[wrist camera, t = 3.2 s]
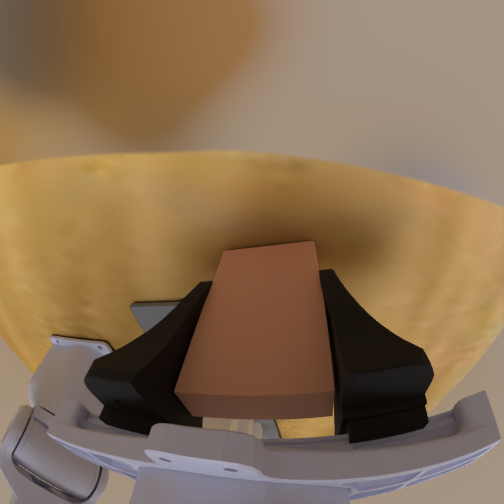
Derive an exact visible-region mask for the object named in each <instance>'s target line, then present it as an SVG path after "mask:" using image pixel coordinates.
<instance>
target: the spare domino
mask: <svg viewBox="0 0 504 504" xmlns="http://www.w3.org/2000/svg"><path fill="white" fill-rule="evenodd" d="M174 392H175V394H176V395H177V396H178V398H179V399H180V400H181V402H182V403H183V404H184V406H185V407H186V408H187V409H188V411H189V412H190V413H191V414H192V416H197V417H209V418H223V419H249V420H274V419H301V418H315V417H326V416H332V413H333V401H334V381H333V371H332V361H331V352H330V343H329V335H328V327H327V319H326V312H325V305H324V298H323V292H322V288H321V284H320V277H319V266H318V260H317V254H316V248H315V243H314V241H306V242H297V243H289V244H280V245H271V246H262V247H254V248H245V249H236V250H228V251H224V252H223V255H222V257H221V260H220V263H219V265H218V268H217V271H216V273H215V276H214V279H213V283H212V286H211V289H210V291H209V294H208V297H207V299H206V301H205V304H204V306H203V309H202V312H201V315H200V318H199V320H198V323H197V326H196V329H195V332H194V335H193V337H192V340H191V343H190V346H189V349H188V352H187V355H186V358H185V361H184V363H183V366H182V369H181V372H180V375H179V378H178V381H177V384H176V387H175V390H174Z"/></svg>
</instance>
